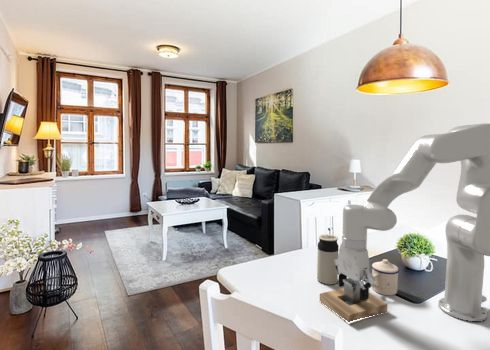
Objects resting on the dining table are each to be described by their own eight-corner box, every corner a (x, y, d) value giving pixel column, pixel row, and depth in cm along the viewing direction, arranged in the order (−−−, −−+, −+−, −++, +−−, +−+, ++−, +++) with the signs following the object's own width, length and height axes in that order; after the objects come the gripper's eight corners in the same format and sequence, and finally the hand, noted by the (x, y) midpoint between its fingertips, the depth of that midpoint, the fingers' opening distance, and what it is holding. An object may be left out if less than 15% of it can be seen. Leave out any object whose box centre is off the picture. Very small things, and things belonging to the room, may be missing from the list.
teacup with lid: (380, 282, 114) (382, 253, 113) (403, 292, 106) (404, 261, 105) (360, 289, 108) (361, 259, 107) (382, 300, 100) (383, 268, 99)
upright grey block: (355, 301, 99) (355, 276, 98) (363, 307, 96) (364, 281, 95) (341, 305, 97) (342, 279, 96) (349, 311, 93) (350, 284, 92)
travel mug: (338, 285, 111) (339, 240, 109) (317, 284, 113) (318, 239, 111) (336, 276, 119) (337, 234, 117) (316, 275, 120) (317, 233, 119)
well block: (355, 292, 106) (355, 284, 106) (387, 312, 93) (387, 303, 93) (319, 301, 100) (319, 293, 99) (348, 324, 87) (348, 315, 87)
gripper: (327, 236, 101) (326, 283, 102) (366, 253, 85) (364, 308, 87) (344, 234, 104) (343, 279, 105) (384, 249, 88) (382, 302, 89)
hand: (352, 292), depth 96 cm, fingers open, 9 cm apart
